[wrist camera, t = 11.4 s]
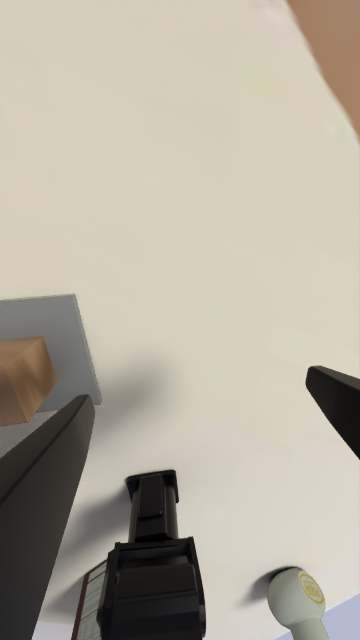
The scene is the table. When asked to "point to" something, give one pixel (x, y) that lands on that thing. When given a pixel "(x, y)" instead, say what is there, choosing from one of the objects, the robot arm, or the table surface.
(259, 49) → the table surface
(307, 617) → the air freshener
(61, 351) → the slate pad
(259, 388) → the table surface
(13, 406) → the walnut cube
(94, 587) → the protein box
